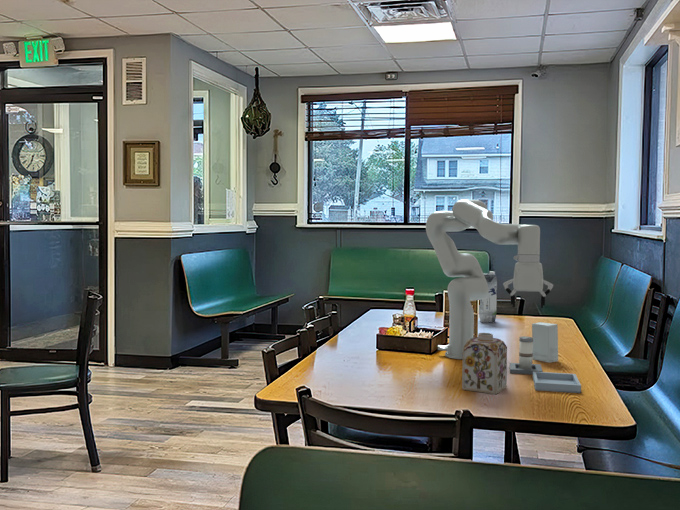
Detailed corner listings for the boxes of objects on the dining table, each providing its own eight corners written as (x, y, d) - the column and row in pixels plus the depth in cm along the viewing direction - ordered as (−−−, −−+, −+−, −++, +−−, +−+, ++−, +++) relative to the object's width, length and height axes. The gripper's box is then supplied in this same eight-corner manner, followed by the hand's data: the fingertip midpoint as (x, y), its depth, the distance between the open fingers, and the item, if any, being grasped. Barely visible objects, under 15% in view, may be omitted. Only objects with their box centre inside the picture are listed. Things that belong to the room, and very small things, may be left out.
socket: (509, 374, 235) (510, 369, 235) (509, 366, 248) (509, 361, 248) (542, 376, 232) (542, 371, 232) (539, 368, 245) (540, 362, 245)
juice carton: (479, 322, 351) (480, 271, 349) (478, 319, 361) (479, 270, 359) (496, 323, 349) (497, 272, 348) (495, 320, 359) (496, 270, 358)
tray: (535, 390, 214) (535, 382, 214) (532, 378, 230) (532, 371, 230) (580, 393, 211) (581, 385, 211) (575, 381, 226) (575, 373, 226)
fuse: (518, 371, 237) (519, 338, 236) (518, 368, 242) (519, 336, 241) (532, 372, 236) (533, 339, 235) (532, 369, 241) (532, 336, 240)
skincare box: (558, 362, 256) (559, 324, 255) (548, 364, 252) (549, 325, 251) (541, 358, 263) (542, 321, 262) (530, 360, 259) (531, 322, 258)
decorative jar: (473, 382, 224) (474, 329, 223) (507, 387, 218) (508, 332, 217) (460, 390, 214) (461, 334, 213) (496, 395, 208) (497, 338, 207)
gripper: (503, 259, 235) (502, 307, 236) (554, 260, 231) (553, 309, 232) (503, 258, 242) (502, 305, 243) (553, 259, 238) (551, 306, 239)
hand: (527, 307), depth 237 cm, fingers open, 9 cm apart
